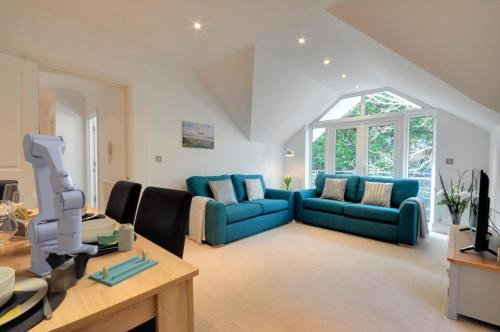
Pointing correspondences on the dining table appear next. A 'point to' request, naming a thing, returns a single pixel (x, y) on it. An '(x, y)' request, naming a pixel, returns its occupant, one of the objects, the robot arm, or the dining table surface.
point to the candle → (126, 237)
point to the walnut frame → (64, 276)
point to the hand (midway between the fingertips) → (70, 278)
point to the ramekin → (108, 238)
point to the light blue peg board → (124, 269)
